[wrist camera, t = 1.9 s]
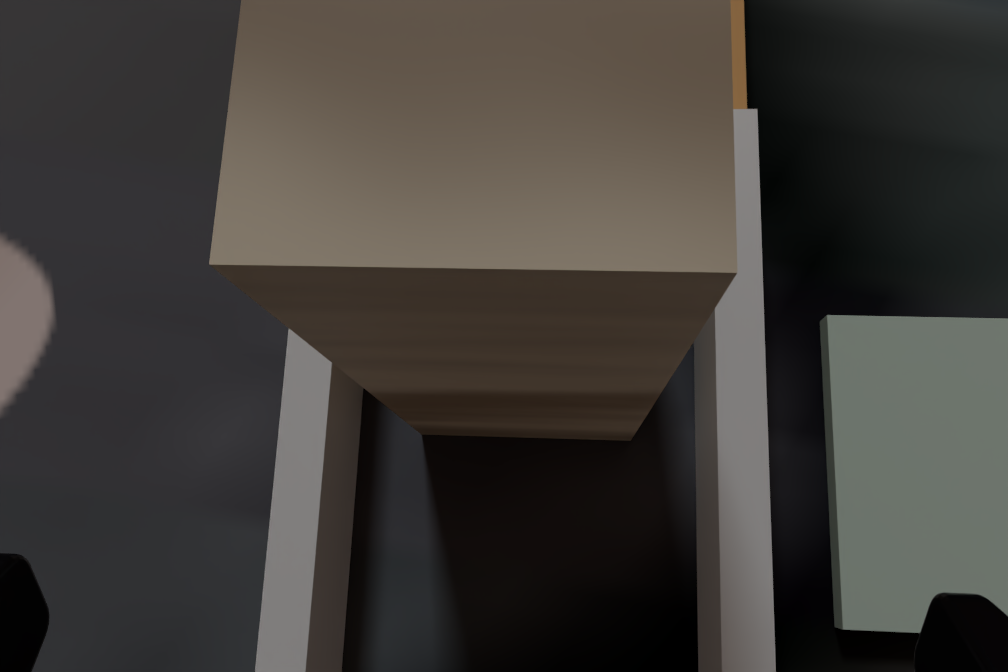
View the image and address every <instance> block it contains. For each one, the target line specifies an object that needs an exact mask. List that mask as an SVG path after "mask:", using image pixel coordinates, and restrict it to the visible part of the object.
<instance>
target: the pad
mask: <svg viewBox="0 0 1008 672" xmlns="http://www.w3.org/2000/svg"><path fill="white" fill-rule="evenodd" d="M820 336H821V357H822V377H823V398H824V419H825V439H826V460H827V480H828V501H829V522H830V542H831V563H832V584H833V604H834V625H835V627H836V628H840V629H843V630H865V631H888V632H910V633H920V632H921V629H922V626H923V623H924V620H925V617H926V614H927V611H928V608H929V605H930V603H931V601H932V599H933V597H934V596H935V595H937V594H938V593H943V592H947V593H971V594H979V595H982V596H984V597H985V598H987V599H989V600H990V601H991V602H993V603H994V604H995V605H996V606H997V607H998V608H999V609H1001V610H1002V611H1003V612H1004V613H1005V614H1006V615H1007V616H1008V319H998V318H946V317H894V316H841V315H827V316H826V317H825V318H823V319H822V320H821V321H820Z"/></svg>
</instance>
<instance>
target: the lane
mask: <svg viewBox="0 0 1008 672" xmlns="http://www.w3.org/2000/svg"><path fill="white" fill-rule="evenodd" d="M733 119H734V157H735V196H736V234H737V274H736V276H735V278H734V279H733V281H732V282H731V284H730V285H729V287H728V289H727V290H726V292H725V293H724V295H723V296H722V298H721V300H720V301H719V303H718V304H717V306H716V307H715V309H714V311H713V312H712V314H711V315H710V317H709V318H708V320H707V322H706V323H705V325H704V326H703V328H702V329H701V331H700V333H699V334H698V336H697V337H696V339H695V340H694V387H695V461H696V534H697V608H698V672H776V662H775V632H774V602H773V571H772V541H771V511H770V481H769V450H768V420H767V390H766V360H765V330H764V299H763V269H762V239H761V209H760V179H759V148H758V118H757V109H733ZM362 399H363V387H362V386H360V385H359V384H358V383H357V382H355V381H354V380H353V379H352V378H350V377H349V376H348V375H347V374H345V373H344V372H343V371H342V370H340V369H339V368H338V367H337V366H335V365H334V364H333V363H332V362H330V361H329V360H328V359H327V358H325V357H324V356H323V355H322V354H320V353H319V352H318V351H317V350H315V349H314V348H313V347H312V346H310V345H309V344H308V343H307V342H305V341H304V340H303V339H302V338H300V337H299V336H298V335H297V334H295V333H294V332H293V331H292V330H290V329H289V331H288V342H287V352H286V362H285V372H284V382H283V392H282V403H281V413H280V423H279V433H278V443H277V453H276V464H275V474H274V484H273V494H272V504H271V514H270V524H269V535H268V545H267V555H266V565H265V575H264V585H263V596H262V606H261V616H260V626H259V636H258V646H257V657H256V667H255V672H342V661H343V647H344V634H345V621H346V608H347V595H348V582H349V569H350V556H351V543H352V530H353V517H354V504H355V491H356V478H357V465H358V452H359V438H360V425H361V412H362Z"/></svg>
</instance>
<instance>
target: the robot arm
mask: <svg viewBox="0 0 1008 672" xmlns="http://www.w3.org/2000/svg"><path fill="white" fill-rule="evenodd" d="M48 625H49V609H48V606H47V603H46V601H45V598H44V596H43V594H42V591H41V589H40V586H39V584H38V582H37V579H36V577H35V575H34V572H33V570H32V568H31V565H30V563H29V562H28V560H27V559H26V558H24V557H23V556H22V555H19V554H6V553H0V672H32V669H33V667H34V664H35V662H36V659H37V657H38V654H39V651H40V649H41V646H42V644H43V641H44V639H45V636H46V633H47V630H48ZM914 670H915V672H1008V616H1007V615H1006V614H1005V613H1004V612H1003V611H1002V610H1001V609H999V608H998V607H997V606H996V605H995V604H994V603H993V602H991V601H990V600H989V599H987V598H985V597H984V596H982V595H979V594H971V593H947V592H943V593H938V594H937V595H935V596H934V597H933V599H932V601H931V603H930V605H929V608H928V611H927V614H926V617H925V620H924V623H923V626H922V629H921V632H920V635H919V637H918V640H917V643H916V647H915V651H914Z"/></svg>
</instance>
